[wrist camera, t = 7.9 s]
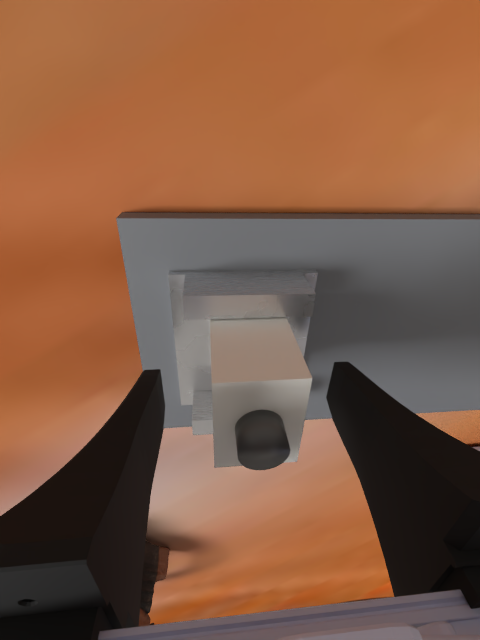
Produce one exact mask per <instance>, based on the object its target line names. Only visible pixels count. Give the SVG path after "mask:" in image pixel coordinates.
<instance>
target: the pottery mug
mask: <svg viewBox="0 0 480 640" xmlns="http://www.w3.org/2000/svg"><path fill="white" fill-rule="evenodd" d="M168 555H169V549H168V548H165V547H159V546H157V545H153V544H151V543H150V542H148V541H146V543H145V553H144V565H143V576H142V588H141V601H140V615H139V627H140V626H149V625H154V623H151V624H150V617H149V615H148V613H149V612H150V608H151V605H152V597H153V593H154V584H155V582H157V581H159V580H164V579H165V577H166V574H167V568H168Z"/></svg>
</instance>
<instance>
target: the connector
mask: <svg viewBox="0 0 480 640" xmlns="http://www.w3.org/2000/svg"><path fill="white" fill-rule="evenodd" d="M210 341H211V379H212V409H213V438H214V467H215V468H217V467H230V466H244V467H246V468H249V469H253V470H266V469H271V468H274V467H276V466H278V465H280V464H282V463H284V462H297V459H298V454H299V448H300V443H301V437H302V432H303V427H304V421H305V416H306V410H307V405H308V400H309V394H310V389H311V383H312V376H311V374H310V372H309V369H308V367H307V365H306V362H305V360H304V358H303V355H302V353H301V351H300V348H299V346H298V344H297V341H296V339H295V337H294V334H293V332H292V330H291V327H290V325H289V323H288V320H287V318H286V317H275V318H238V319H210Z"/></svg>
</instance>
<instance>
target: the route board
mask: <svg viewBox="0 0 480 640" xmlns="http://www.w3.org/2000/svg"><path fill="white" fill-rule="evenodd" d="M116 219H117V225H118V231H119V236H120V242H121V248H122V254H123V259H124V265H125V271H126V277H127V282H128V288H129V294H130V300H131V305H132V311H133V317H134V323H135V328H136V334H137V340H138V346H139V351H140V357H141V363H142V369H143V371H144V370H153V369H160V370H161V377H162V385H163V392H164V400H165V417H164V428H175V427H192V408H193V405H181V399H180V389H179V379H178V369H177V359H176V349H175V339H174V329H173V319H172V309H171V299H170V288H169V278H168V273H169V271H223V270H304V269H315V270H316V271H317V273H318V274H317V280H316V286H315V293H316V296H315V302H314V308H313V314H312V317H310V323H309V329H308V335H307V341H306V347H305V353H304V360H305V362H306V365H307V367H308V369H309V372H310V374H311V376H312V383H311V389H310V394H309V400H308V405H307V410H306V416H305V420H311V419H328V418H332V415H331V412H330V409H329V406H328V402H327V399H326V396H327V391H328V387H329V383H330V378H331V374H332V370H333V365H334V362H350V363H351V364H352V365H353V366H355V367H356V368H357V369H358V370H359V371H361V372H362V373H363V374H364V375H365V376H367V377H368V378H369V379H370V380H371V381H373V382H374V383H375V384H376V385H378V386H379V387H380V388H381V389H383V390H384V391H385V392H386V393H388V394H389V395H390V396H391V397H393V398H394V399H395V400H397V401H398V402H399V403H401V404H402V405H403V406H405V407H406V408H408V409H409V410H410V411H412V412H413V413H430V412H447V411H464V410H480V214H346V213H145V212H122V213H121V214H120V215H119V216H118V217H117V218H116Z"/></svg>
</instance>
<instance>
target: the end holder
mask: <svg viewBox="0 0 480 640" xmlns="http://www.w3.org/2000/svg"><path fill="white" fill-rule="evenodd" d="M317 274H318V273H317V271H316V270H315V269H304V270H223V271H169V273H168V278H169V288H170V299H171V309H172V319H173V329H174V339H175V349H176V359H177V369H178V379H179V389H180V399H181V405H193V408H192V429H193V435H205V434H213V409H212V379H211V341H210V319H238V318H275V317H286V318H287V320H288V323H289V325H290V327H291V330H292V332H293V334H294V337H295V339H296V341H297V344H298V346H299V348H300V351H301V353H302V355H303V358H304V353H305V347H306V341H307V335H308V329H309V323H310V317H312V314H313V308H314V302H315V296H316V293H315V286H316V280H317Z"/></svg>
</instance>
